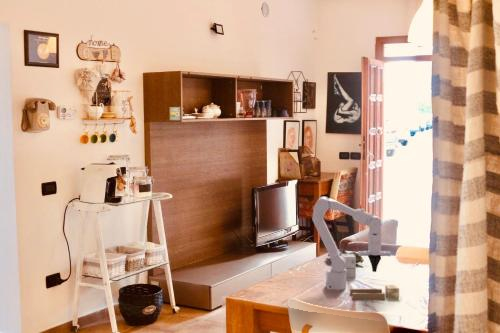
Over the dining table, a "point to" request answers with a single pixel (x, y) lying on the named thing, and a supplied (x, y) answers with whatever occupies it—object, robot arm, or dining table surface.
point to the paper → (358, 258)
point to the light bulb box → (350, 265)
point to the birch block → (391, 291)
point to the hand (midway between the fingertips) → (374, 271)
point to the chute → (370, 294)
